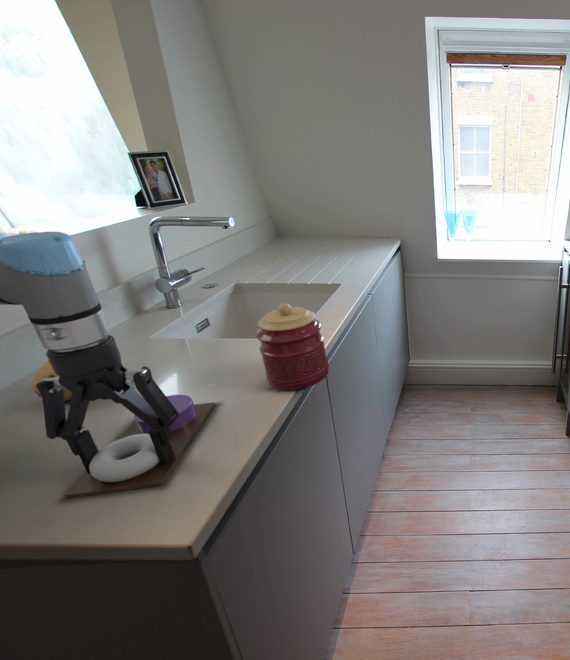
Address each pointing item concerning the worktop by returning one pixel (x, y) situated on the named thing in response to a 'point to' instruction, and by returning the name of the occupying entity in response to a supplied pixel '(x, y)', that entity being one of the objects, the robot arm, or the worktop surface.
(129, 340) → the worktop surface
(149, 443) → the donut
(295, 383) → the kitchen canister
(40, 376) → the potato
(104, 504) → the worktop surface
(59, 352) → the robot arm
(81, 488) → the placemat
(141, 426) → the purple hockey puck
